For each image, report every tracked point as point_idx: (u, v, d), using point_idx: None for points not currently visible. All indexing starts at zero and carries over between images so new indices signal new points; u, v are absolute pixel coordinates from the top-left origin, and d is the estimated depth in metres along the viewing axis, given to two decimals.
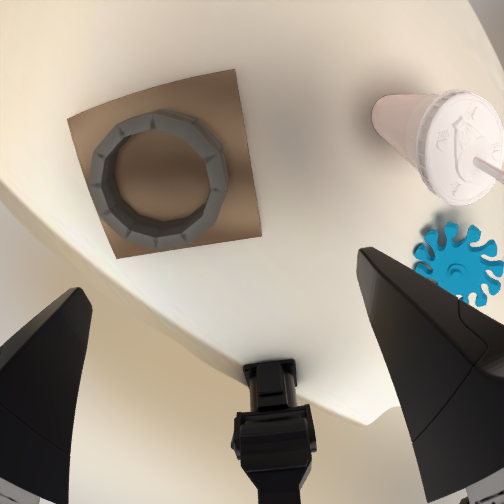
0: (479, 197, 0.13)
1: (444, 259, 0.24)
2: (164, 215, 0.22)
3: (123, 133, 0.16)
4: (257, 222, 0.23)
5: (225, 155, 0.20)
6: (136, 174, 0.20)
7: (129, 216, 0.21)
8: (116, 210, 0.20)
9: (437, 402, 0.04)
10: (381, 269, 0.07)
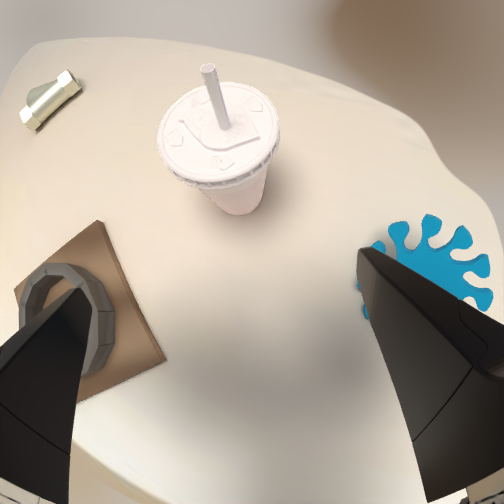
0: (264, 151, 0.13)
1: None
2: None
3: (32, 283, 0.20)
4: (150, 347, 0.21)
5: (106, 290, 0.22)
6: None
7: None
8: None
9: (437, 402, 0.04)
10: (381, 269, 0.07)
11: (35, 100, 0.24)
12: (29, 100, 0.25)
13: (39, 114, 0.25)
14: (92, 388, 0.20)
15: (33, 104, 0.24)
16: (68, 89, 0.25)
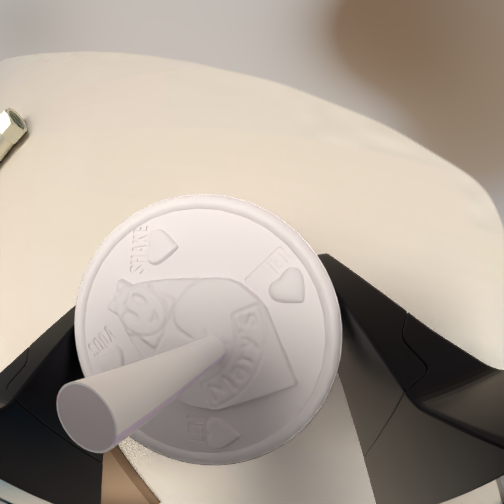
0: (304, 416, 0.05)
1: None
2: None
3: None
4: (140, 495, 0.13)
5: None
6: None
7: None
8: None
9: (378, 421, 0.04)
10: None
11: None
12: None
13: None
14: None
15: None
16: (9, 136, 0.18)
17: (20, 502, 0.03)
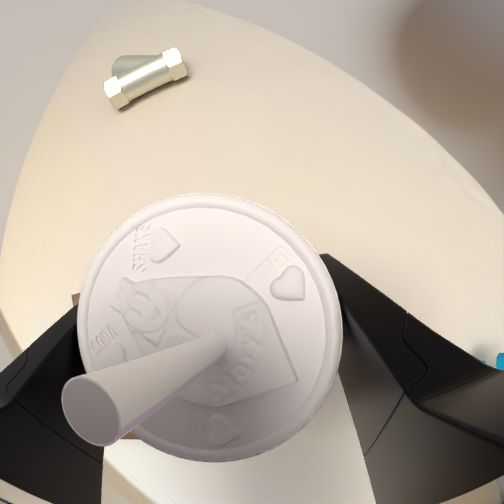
0: (305, 413, 0.05)
1: None
2: None
3: None
4: None
5: None
6: None
7: None
8: None
9: (378, 421, 0.04)
10: None
11: (127, 73, 0.23)
12: (116, 69, 0.24)
13: (130, 91, 0.24)
14: None
15: (124, 77, 0.23)
16: (174, 71, 0.24)
17: (20, 502, 0.03)
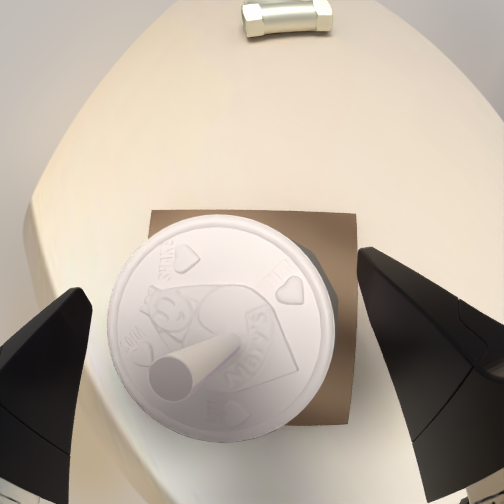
0: (304, 397, 0.07)
1: None
2: None
3: None
4: (347, 404, 0.15)
5: None
6: None
7: None
8: None
9: (437, 402, 0.04)
10: (381, 269, 0.07)
11: (271, 5, 0.19)
12: (253, 0, 0.20)
13: (269, 24, 0.20)
14: None
15: (268, 7, 0.19)
16: (320, 21, 0.20)
17: None
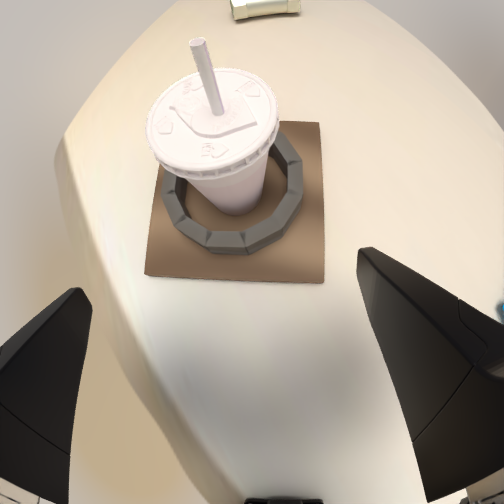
0: (261, 136, 0.12)
1: None
2: None
3: None
4: (321, 262, 0.20)
5: None
6: None
7: (187, 214, 0.20)
8: (179, 198, 0.20)
9: (437, 402, 0.04)
10: (381, 269, 0.07)
11: None
12: None
13: (251, 8, 0.26)
14: (215, 270, 0.21)
15: None
16: (291, 5, 0.25)
17: None
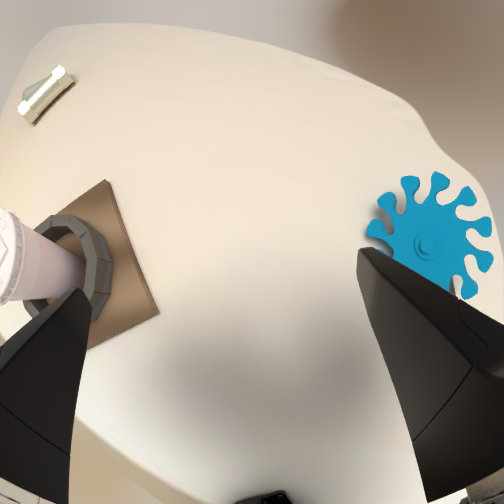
0: (11, 259, 0.13)
1: (403, 241, 0.19)
2: None
3: None
4: (145, 298, 0.22)
5: (107, 243, 0.23)
6: None
7: None
8: (36, 303, 0.20)
9: (437, 402, 0.04)
10: (381, 269, 0.07)
11: (32, 94, 0.26)
12: (25, 97, 0.27)
13: (36, 106, 0.27)
14: None
15: (30, 98, 0.25)
16: (62, 81, 0.27)
17: None
